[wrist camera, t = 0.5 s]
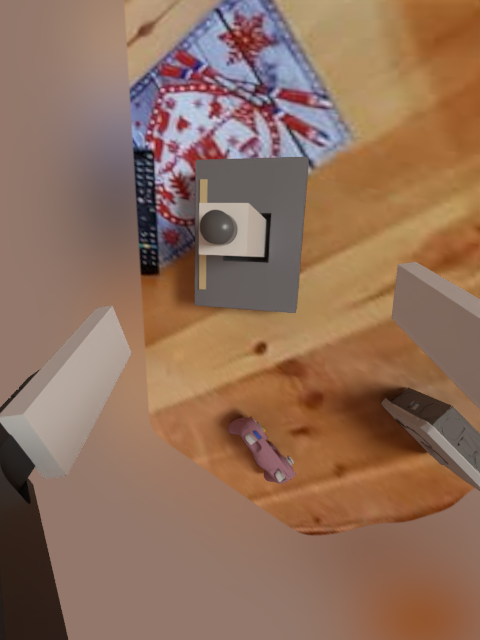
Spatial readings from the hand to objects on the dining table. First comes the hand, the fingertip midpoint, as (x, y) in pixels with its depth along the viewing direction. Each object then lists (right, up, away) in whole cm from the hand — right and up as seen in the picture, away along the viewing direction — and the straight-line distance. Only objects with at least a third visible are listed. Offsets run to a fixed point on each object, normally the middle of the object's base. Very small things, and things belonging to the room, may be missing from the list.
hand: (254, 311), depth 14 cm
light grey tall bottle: (+1, +9, +22) cm, 24 cm away
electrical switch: (+22, -12, +22) cm, 33 cm away
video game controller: (+3, -17, +28) cm, 33 cm away
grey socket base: (+1, +9, +22) cm, 24 cm away
